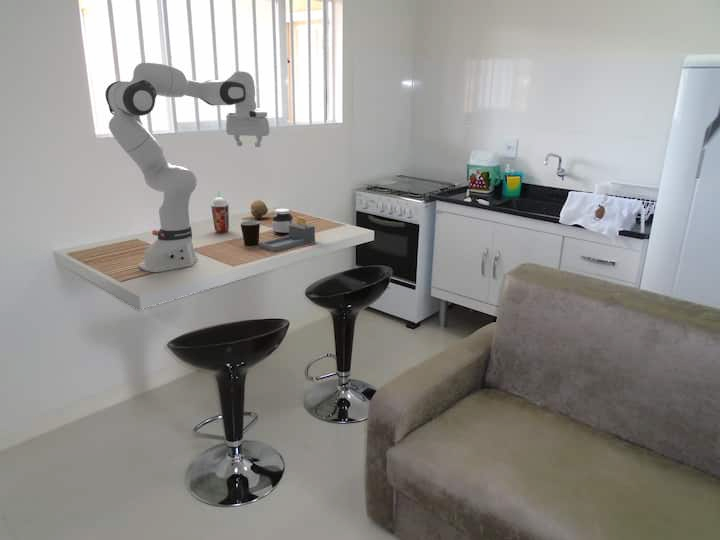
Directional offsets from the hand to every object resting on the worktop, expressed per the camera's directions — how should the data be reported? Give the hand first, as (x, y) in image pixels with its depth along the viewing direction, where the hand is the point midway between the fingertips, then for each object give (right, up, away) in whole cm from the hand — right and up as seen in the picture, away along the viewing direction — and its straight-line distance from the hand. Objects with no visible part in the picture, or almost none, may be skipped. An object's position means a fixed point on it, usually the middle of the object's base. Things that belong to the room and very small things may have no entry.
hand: (248, 146), depth 228 cm
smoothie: (-21, -34, +37) cm, 55 cm away
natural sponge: (-8, -25, +65) cm, 70 cm away
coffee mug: (-2, -41, +17) cm, 44 cm away
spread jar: (+9, -34, +36) cm, 51 cm away
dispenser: (+15, -41, +15) cm, 46 cm away
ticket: (+20, -37, +21) cm, 47 cm away
